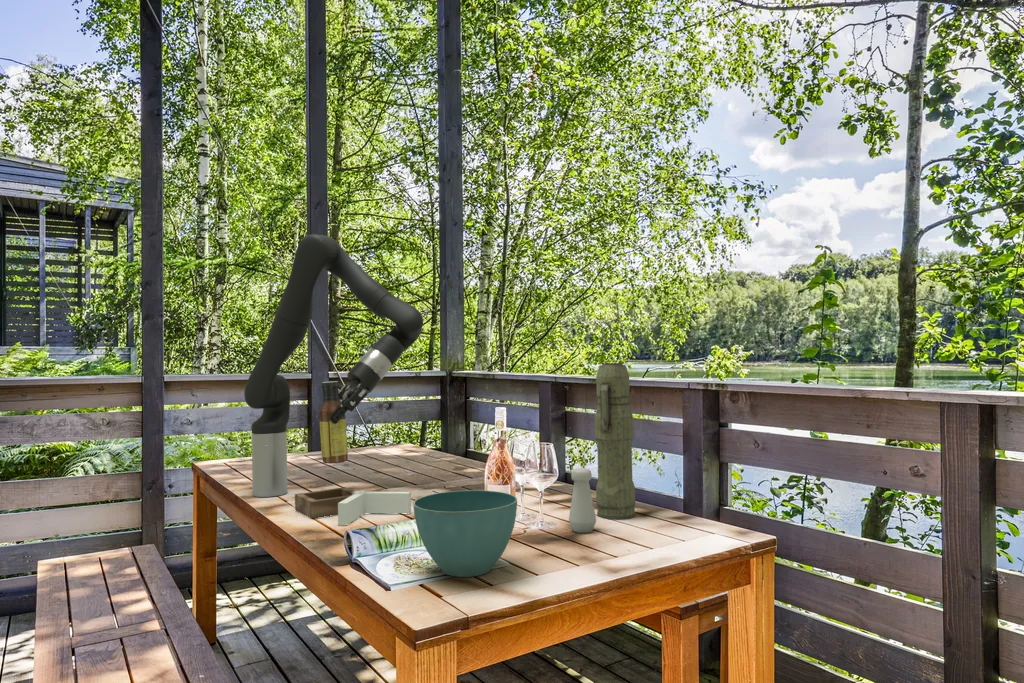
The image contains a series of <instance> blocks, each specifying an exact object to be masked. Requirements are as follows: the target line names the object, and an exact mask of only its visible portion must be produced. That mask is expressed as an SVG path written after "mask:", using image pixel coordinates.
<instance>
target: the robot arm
mask: <svg viewBox="0 0 1024 683" xmlns="http://www.w3.org/2000/svg"><path fill="white" fill-rule="evenodd" d="M294 254H295V255H294V260H293V263H292V267H291V272H290V275H289V278H288V281H287V284H286V287H285V289H284V291H283V293H282V298H281V299H280V303H279V305H278V307H277V310H276V312H275V315H274V317H273V320H272V323H271V326H270V330H269V332H268V334H267V337H266V340H265V342H264V345H263V347H262V350H261V352H260V354H259V356H258V359H257V361H256V363H255V365H254V367H253V369H252V371H251V373H250V375H249V377H248V378H247V381H246V384H245V386H244V387H245V388H244V400H245V404H246V405H248V407H250V408H251V409H256V410H257V409H258V410H259V409H260V410H263V411H262V414H261V416H259V418H258V419H256V420H255V421H253V422H252V424H251V478H252V479H251V480H252V481H251V482H252V485H251V486H252V496H253V497H257V498H266V497H267V498H269V497H271V498H272V497H278V496H282V495H286V494H287V493H288V451H287V450H288V447H287V446H288V444H287V426H288V423H289V420H290V411H291V410H290V405H291V389H290V385H289V382H288V381H287V379H286V378H285V377H284V376H282V375H280V374H279V371H280V369H281V367H282V366H283V364H284V363H285V362H286V360H287V359H288V358H289V357H290V356H291V355H292V354H293V353H294V352H295V351H296V350H297V349H298V347H299V346H300V345H301V344H302V343H303V341H304V339H305V338H306V334H307V332H308V329H309V327H310V324H311V321H312V318H313V305H314V304H313V303H314V301H313V298H314V297H313V296H314V289H315V286H316V283H317V281H318V278H319V276H320V275H321V273H322V270H325V271H327V272H329V273H331V274H332V275H334V276H335V277H337V278H338V279H340V280H341V281H342V282H343V283H344V284H345V285H346V286H347V287H348V288H349V290H350V291H351V292H352V293H353V295H354V297H356V298H357V300H358V301H359V302H360V303H361V304H362V305H363V306H365V307H366V308H367V309H368V310H370V311H371V312H372V313H373V314H374V315H376V316H377V317H379V318H380V319H388V320H389V321H391V322H392V323H393V324H395V325H394V327H392V329H391V330H390V331H389V332H388V333H387V334H384V335H382V336H381V337H380V338H379V339H378V340H377V341H376V342H375V343H374V344H373V345H372V346H371V348H370V349H369V350H368V351H367V352H365V353H364V355H362V357H360V359H358V360H357V362H356V363H355V365H354V366H352V368H351V369H350V370H349V371H348V373H347V374H346V376H347V379H348V380H349V381H348V382H347V384H344V385H343V386H342V385H340V384H339V387H338V392H339V393H338V394H339V400H340V402H341V404H340V405H339V407H338V408H337V409H336V410H335V411H334V412H333V413H332V415H331V416H330V417H329V420H330V421H331V422H332V423H333V424H337V422H338V421H339V420H340V419H341V418H342V417H343V415H344V414H345V415H346V414H347V413H349V412H353V411H354V410H355V409H356V407H357V406H359V405H360V403H361V402H362V401H363V400H364V399H365V398H366V397H367V396H368V394H369V393H370V394H371V393H372V392H373V390H374V389H375V388H376V387H377V386H378V385H379V383H380V382H381V381H382V380H383V379H384V377H385V376H386V375H387V374H388V372H389V371H390V369H391V367H392V366H393V365H394V364H395V363H396V362H397V360H398V359H399V358H400V357H401V355H402V354H403V353H404V352H405V351H407V350H408V349H409V348H410V347H411V346H412V345H414V343H416V341H417V340H418V338H419V337H420V335H421V333H422V330H423V325H424V317H423V315H422V314H421V312H420V311H419V310H418V309H417V307H415V306H413V305H411V304H410V303H408V302H406V301H404V300H403V299H401V298H398V297H396V296H395V295H394V294H392V293H391V291H389V290H387V289H386V288H385V287H384V286H383V285H382V284H380V283H379V282H378V281H377V280H375V279H374V278H373V277H372V276H371V275H370V274H368V273H367V272H366V271H365V270H363V268H361V267H360V266H359V265H358V264H357V262H355V260H353V259H352V258H351V257H350V255H349V254H348V253H347V252H346V251H345V250H344V248H343V247H342V246H341V245H340V244H339V243H338V242H337V241H336V240H335V239H334V238H333V237H331V236H329V235H324V234H315V233H313V234H308V235H306V236H304V237H303V238H302V239H301V240H300V241H299V243H298V245H297V249H296V251H295V253H294ZM318 419H319V420H320V414H319V415H318Z"/></svg>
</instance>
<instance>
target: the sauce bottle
mask: <svg viewBox="0 0 1024 683" xmlns="http://www.w3.org/2000/svg"><path fill="white" fill-rule="evenodd" d="M339 386H340V383H339V381H338V380H335V381H332V380H331V381H323V382H321V389H322V403H321V405H320V408H319V411H318V413H319V415H320V419H319V433H320V434H319V435H320V449H321V457H322V462H323V464H339V463H344V462H347V460H348V457H349V456H348V452H349V451H348V450H349V449H348V437H347V425H346V424H347V421H346V420H347V419H346V413H345V414H344V415H343V417H342V418H341V419H340V420H339V421H338V422H337V424H333V423H332V422H331V421H330V420H329V417H330V416H331V415H332V413H333V412H334V411H335V410H336V409H337V408H338V407H339V405H340V404H341V402H340V400H339V394H338V393H339V392H338V387H339Z"/></svg>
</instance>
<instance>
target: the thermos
mask: <svg viewBox="0 0 1024 683" xmlns="http://www.w3.org/2000/svg"><path fill="white" fill-rule="evenodd" d="M596 372H597V374H596V377H595V378H596V379H595V380H596V381H595V382H596V383H595V384H596V397H597V403H596V410H595V413H594V439H595V441H596V444H597V445H596V446H597V448H596V449H597V483H596V487H595V498H596V499H595V500H596V506H597V512H596V513H597V516H596V517H598V518H601V519H606V520H629V519H632V518H634V517H636V512H635V506H636V486H635V484H634V481H633V452H632V451H633V450H632V448H633V447H632V443H633V440H634V415H633V412H632V409H631V403H630V396H631V395H630V393H631V392H630V374H629V371H628V368H627V366H626V364H623V363H622V362H615V363H614V362H611V363H609V362H608V363H607V362H606V363H604V362H603V363H601V365H599V366H598V370H597V371H596Z"/></svg>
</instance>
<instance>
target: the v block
mask: <svg viewBox="0 0 1024 683" xmlns="http://www.w3.org/2000/svg"><path fill="white" fill-rule="evenodd" d="M354 491H355V492H352V496H350V497H348V498H346V499H345V500H343V501H341V502H339V503H338V515H337V518H338V519H337V525H347V524H349V523H350V522H352V521H353V522H354V520H355V519H356V520H358V519H359V518H360V517H359V516H361V515H362V514H364V513H389V514H388V515H393V514H392V513H407V514H408V513H410V512H411V513H412V493H411V491H369V490H368V491H367V490H364V489H363V490H358V491H357V490H354ZM390 513H391V514H390ZM411 513H410V514H411ZM364 515H365V514H364ZM362 516H363V515H362ZM362 516H361V517H362ZM358 517H359V518H358ZM357 518H358V519H357ZM356 520H355V521H356ZM353 522H352V523H353ZM350 524H351V523H350ZM350 524H349V525H350ZM347 526H348V525H347Z"/></svg>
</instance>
